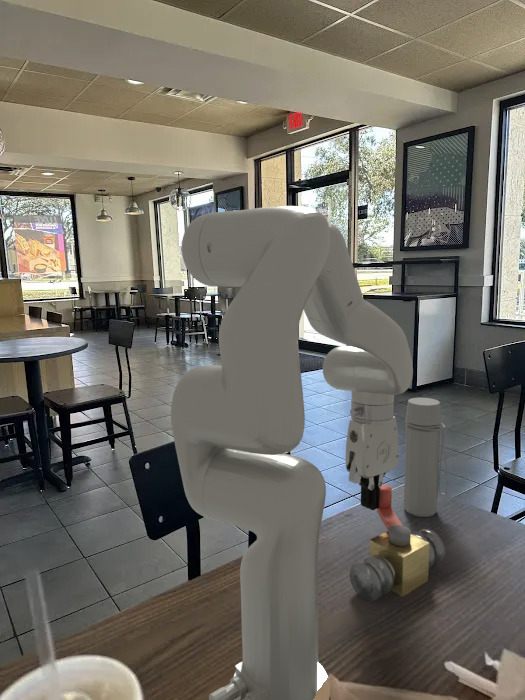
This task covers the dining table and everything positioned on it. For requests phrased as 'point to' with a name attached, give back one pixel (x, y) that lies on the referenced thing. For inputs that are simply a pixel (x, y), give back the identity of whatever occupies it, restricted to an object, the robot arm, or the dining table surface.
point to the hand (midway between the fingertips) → (370, 506)
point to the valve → (396, 565)
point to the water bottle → (423, 456)
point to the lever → (392, 519)
